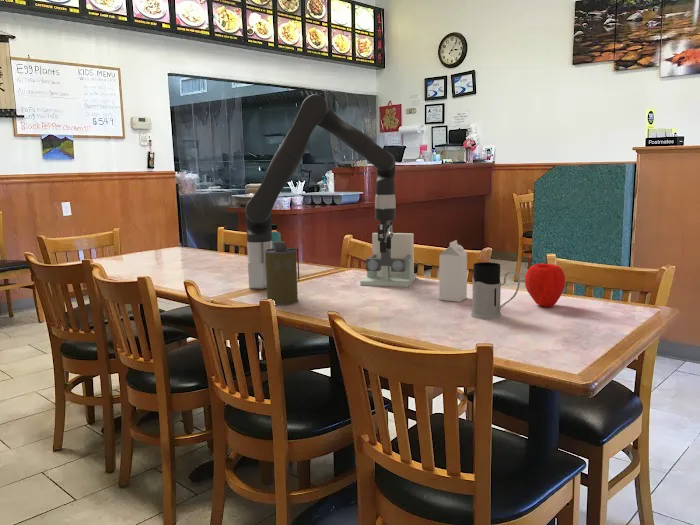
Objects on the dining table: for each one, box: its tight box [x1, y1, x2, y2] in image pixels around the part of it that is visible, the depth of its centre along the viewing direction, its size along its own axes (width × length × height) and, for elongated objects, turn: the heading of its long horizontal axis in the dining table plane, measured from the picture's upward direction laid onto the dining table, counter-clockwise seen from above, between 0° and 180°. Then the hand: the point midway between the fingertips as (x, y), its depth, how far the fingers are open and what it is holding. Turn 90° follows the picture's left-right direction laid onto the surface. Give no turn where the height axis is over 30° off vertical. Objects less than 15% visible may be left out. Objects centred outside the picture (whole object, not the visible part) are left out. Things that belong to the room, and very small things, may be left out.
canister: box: [264, 240, 300, 307], centre depth 187 cm, size 11×10×20 cm
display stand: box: [359, 232, 417, 288], centre depth 216 cm, size 18×18×18 cm
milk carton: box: [438, 239, 468, 303], centre depth 185 cm, size 7×7×19 cm
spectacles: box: [365, 249, 410, 272], centre depth 216 cm, size 12×14×8 cm
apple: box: [524, 262, 566, 308], centre depth 174 cm, size 12×12×13 cm
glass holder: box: [470, 261, 521, 320], centre depth 162 cm, size 9×14×15 cm, turn 51°
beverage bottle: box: [271, 223, 282, 248], centre depth 248 cm, size 6×7×20 cm
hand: (385, 250), depth 211 cm, fingers open, 8 cm apart
